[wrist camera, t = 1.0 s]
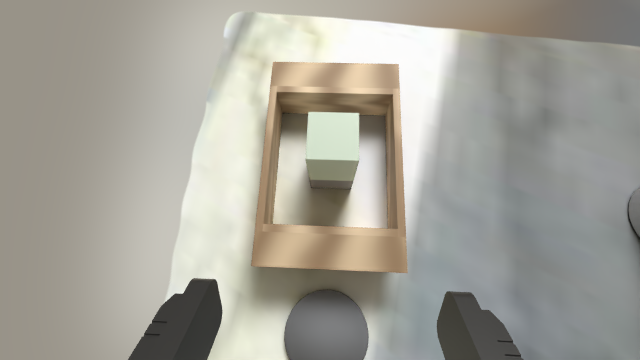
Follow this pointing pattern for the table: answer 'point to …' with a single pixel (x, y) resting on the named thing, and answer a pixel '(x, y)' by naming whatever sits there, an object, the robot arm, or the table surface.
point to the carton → (384, 99)
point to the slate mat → (326, 328)
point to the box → (332, 149)
